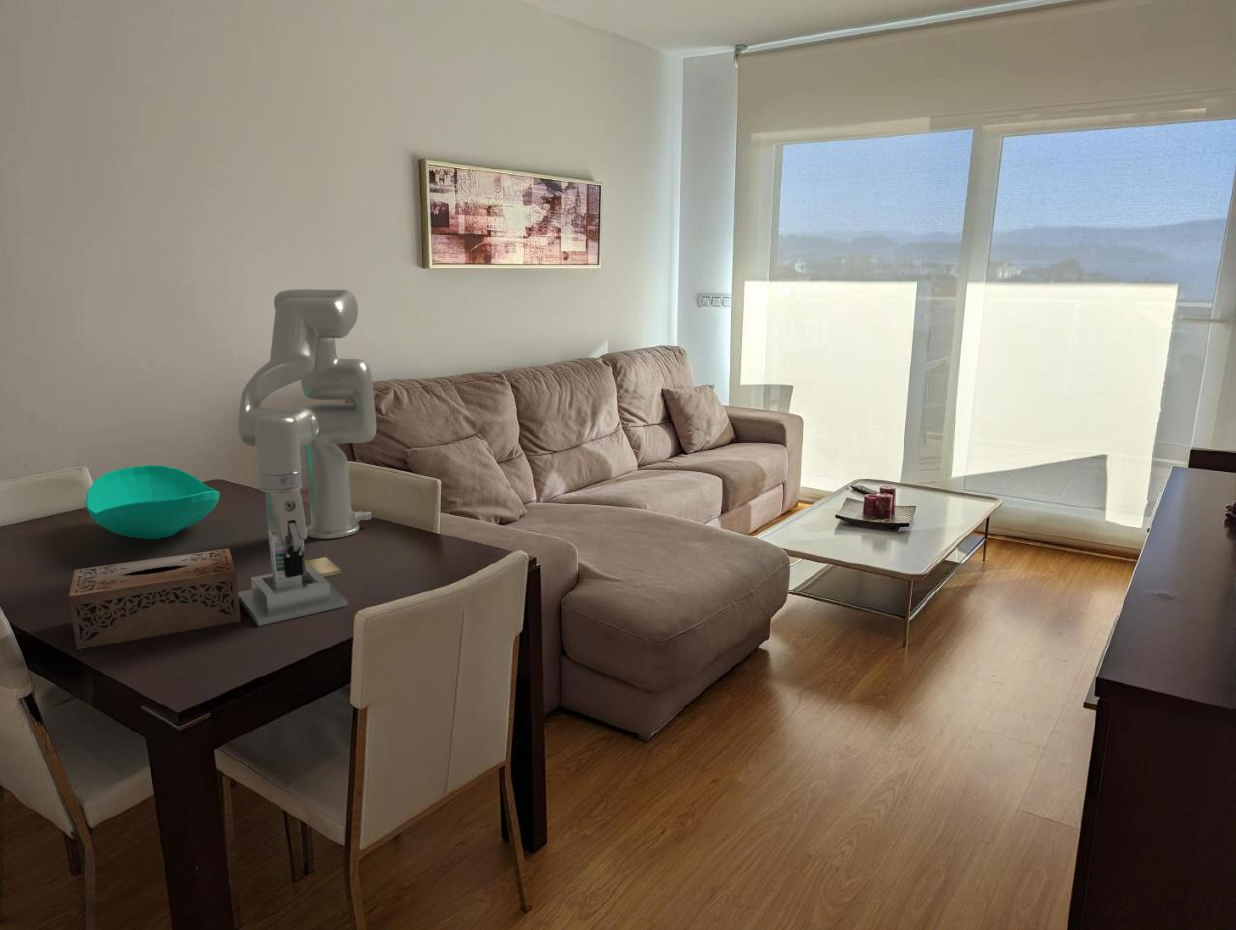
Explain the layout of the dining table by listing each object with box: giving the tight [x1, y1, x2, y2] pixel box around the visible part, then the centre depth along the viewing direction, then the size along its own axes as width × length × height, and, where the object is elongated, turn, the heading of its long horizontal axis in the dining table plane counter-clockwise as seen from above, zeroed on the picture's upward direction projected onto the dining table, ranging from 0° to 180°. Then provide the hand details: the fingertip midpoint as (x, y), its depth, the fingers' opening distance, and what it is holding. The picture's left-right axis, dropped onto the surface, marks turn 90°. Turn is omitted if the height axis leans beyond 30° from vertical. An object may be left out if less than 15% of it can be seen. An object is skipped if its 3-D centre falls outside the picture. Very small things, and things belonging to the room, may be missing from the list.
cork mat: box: [305, 556, 342, 578], centre depth 183 cm, size 10×10×1 cm
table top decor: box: [85, 464, 221, 540], centre depth 205 cm, size 40×28×13 cm
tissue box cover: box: [68, 547, 242, 649], centre depth 157 cm, size 26×14×10 cm, turn 119°
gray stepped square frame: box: [238, 566, 349, 627], centre depth 166 cm, size 16×16×4 cm
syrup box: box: [267, 529, 307, 591], centre depth 165 cm, size 6×6×14 cm
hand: (288, 569), depth 165 cm, fingers closed on syrup box, 6 cm apart
